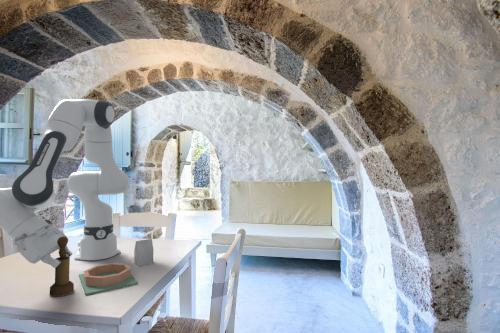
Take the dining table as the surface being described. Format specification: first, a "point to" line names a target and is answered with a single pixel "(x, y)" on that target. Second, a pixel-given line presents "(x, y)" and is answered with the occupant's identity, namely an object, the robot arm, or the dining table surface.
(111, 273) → the green mat
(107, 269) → the pink octagonal ring
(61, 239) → the brown wooden chess piece
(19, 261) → the dining table surface
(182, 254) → the dining table surface
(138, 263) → the tea bag
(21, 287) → the dining table surface
